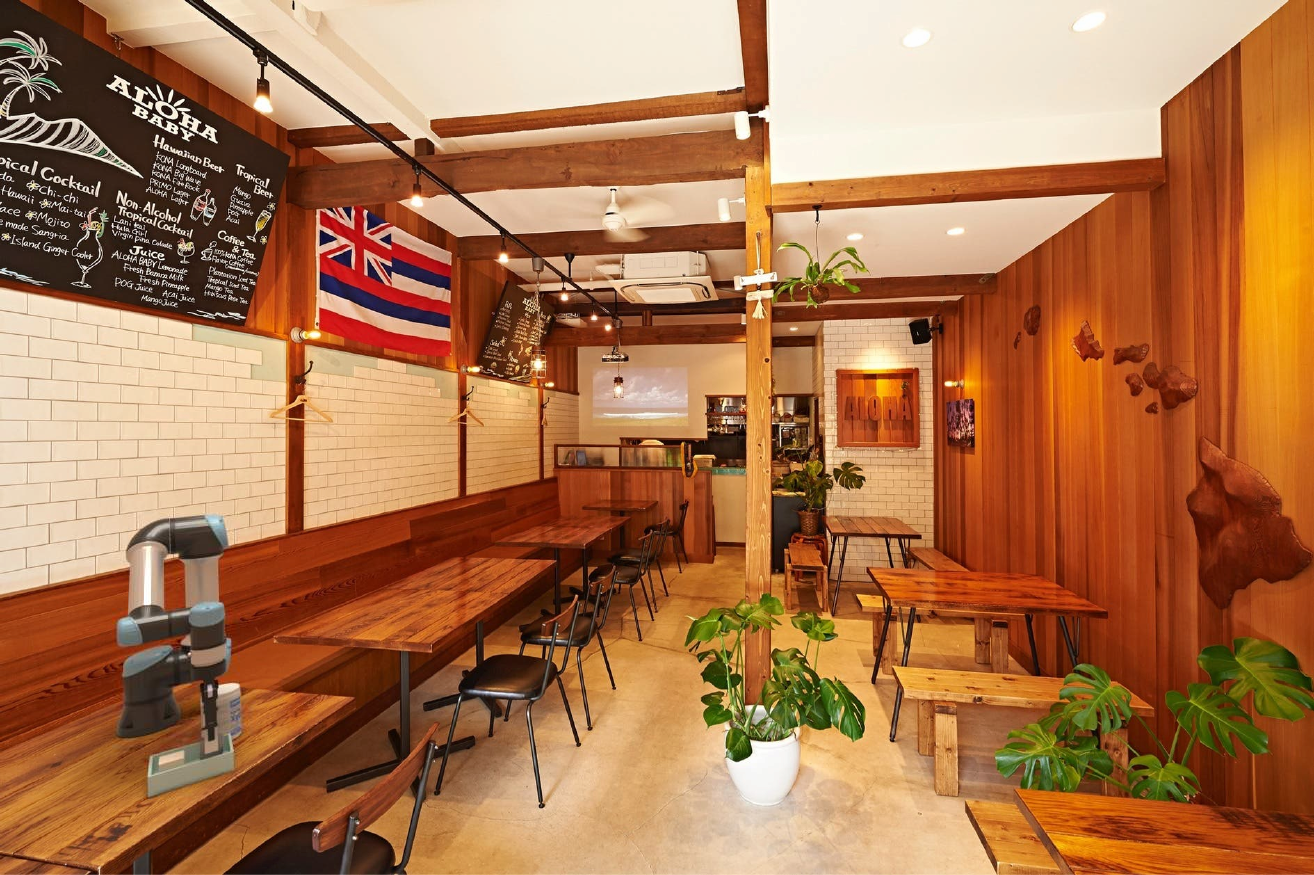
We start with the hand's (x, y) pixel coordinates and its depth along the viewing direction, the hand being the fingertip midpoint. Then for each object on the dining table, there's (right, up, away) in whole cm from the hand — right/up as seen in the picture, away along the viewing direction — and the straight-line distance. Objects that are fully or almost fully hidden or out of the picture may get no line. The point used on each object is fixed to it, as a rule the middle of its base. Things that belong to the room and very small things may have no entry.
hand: (210, 744), depth 154 cm
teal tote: (-3, -6, -3) cm, 7 cm away
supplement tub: (-8, -7, +15) cm, 18 cm away
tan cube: (-6, -6, -5) cm, 10 cm away
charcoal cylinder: (0, -5, 0) cm, 5 cm away
